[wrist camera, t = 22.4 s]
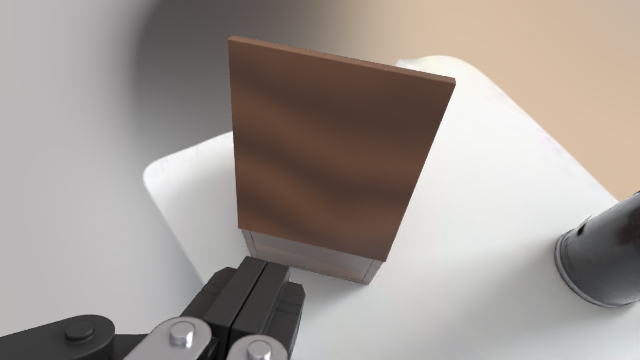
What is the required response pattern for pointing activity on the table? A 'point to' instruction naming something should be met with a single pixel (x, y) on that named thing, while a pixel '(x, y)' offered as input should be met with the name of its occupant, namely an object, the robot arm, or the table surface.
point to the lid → (329, 144)
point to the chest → (311, 257)
